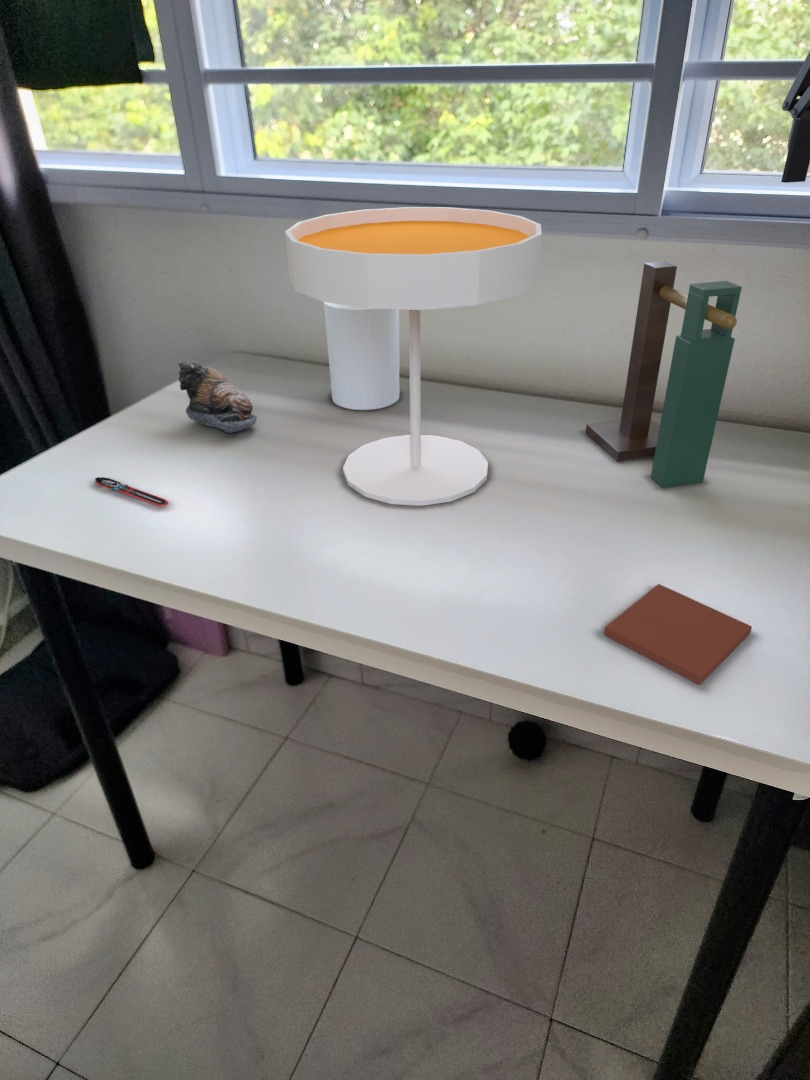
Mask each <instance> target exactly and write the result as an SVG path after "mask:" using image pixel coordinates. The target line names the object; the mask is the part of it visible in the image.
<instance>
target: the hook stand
mask: <svg viewBox="0 0 810 1080" xmlns="http://www.w3.org/2000/svg"><path fill="white" fill-rule="evenodd" d="M677 269H678V266H677V265H675V264H672V263H669V262H668V261H665V260H663V261H651V262H650V261H649V262H643V269H642V276H641V282H640V288H639V289H640V290H639V295H638V303H637V309H636V316H635V322H634V323H635V324H634V329H633V335H632V336H633V337H632V341H631V349H630V357H629V363H628V370H627V377H626V383H625V389H624V398H623V403H622V410H621V416H620V419H616V420H606V421H600V422H591V423H586V426H585V434H586V435H587V436H588V437H589V438H591V439H592V440H593V441H594V442H595V444H597V445H598V446H599V447H601V448H602V449H603V450H604V451H605V452H606V453H607V454H608V455H609V456H611V457H612V459H614V460H615V461H616V462H624V461H632V460H639V459H646V458H654V456H655V451H656V445H657V439H658V434H659V428H660V424H659V423H657V422H655V421H654V420H652V416H653V415H652V414H653V409H654V402H655V397H656V392H657V385H658V381H659V380H658V379H659V374H660V369H661V364H662V363H661V362H662V358H663V357H662V356H663V350H664V346H665V345H664V344H665V339H666V333H667V328H668V323H669V316H670V310H671V305H675V306H677V307H679V308H681V309H683V310H685V309H686V304H687V298H688V294H687V293H684V292H682V291H680V290H677V289H675V288H674V287H675V280H676V275H677V271H678V270H677ZM715 307H716V306H713V305H711V304H709V303H708V305H707V311H706V316H705V320H706V321H708V322H710V323H711V324H712V323H714V324H716V325H718V326H720V327H722V328H724V329H732V328H733V329H735V327H736V325H737V322H738V321H737V320H738V319H737V317H736V316H733V315H731V314H729V313H726V312H724V311H722V310H720V309H718V308H715Z"/></svg>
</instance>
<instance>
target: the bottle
mask: <svg viewBox="0 0 810 1080" xmlns="http://www.w3.org/2000/svg"><path fill="white" fill-rule="evenodd" d="M323 311H324V323H325V333H326V345H327V354H328V355H327V356H328V357H327V358H328V364H329V365H328V367H329V379H330V390H331V398H332V402H333V403H334V404H335V405H337V406H338V407H341V408H344V409H348V410H356V411H369V410H370V411H371V410H372V411H373V410H378V409H379V410H380V409H383V408H386V407H389V406H392V405H393V404H395V403H397V402H398V401H399V399H400V309H368V308H361V307H355V306H348V305H341V304H335V303H328V302H323Z"/></svg>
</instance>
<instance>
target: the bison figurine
mask: <svg viewBox="0 0 810 1080" xmlns="http://www.w3.org/2000/svg"><path fill="white" fill-rule="evenodd" d="M177 365H178V367H179V371H178V374H179V376H178V381H179V383H180V384H179V388H180V389H179V390H181V391H186V394H187V396H188V399H189V404H188V405H187V407H186V408H185V413H186V415H187V416H188V417H187V418H189V419H190V420H191V421H194V422H196V423H199V424H202V425H205V426H208V427H211V428H216V429H221V430H222V431H223V432H225V433H229V434H231V433H238V432H240V431H244V430H245V429H248V428H250V427H252V426H254V425H255V424H256V422H257V419H258V418H257V416H256V415H254V414H252V413H253V408H254V407H253V404H252V402H251V400H250V398H249V397H248V396H247V395H246V393H244V392H243V391H241V390H239V389H238V388H237V387H236V386H235V385H234V384H233V383H231V382H230V381H229V379H228V378H227V377H226V376H225V375H224V374H223V373H221V372H220V371H218V370H217V369H214V368H213V367H211V366H210V367H209V366H208V367H203V366H202V364H201V363H200V362H198V361H196V360H192V359H187V360H184V361H182V362H181V361H180V360H177Z"/></svg>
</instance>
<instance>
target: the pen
mask: <svg viewBox="0 0 810 1080" xmlns="http://www.w3.org/2000/svg"><path fill="white" fill-rule="evenodd" d="M94 480H95V481H94V483H96V485H98V486H101V487H104V488H106V489H111V490H114V491H116V493H118V492H120V493H122V494H125V495H128V496H131V497H134V498H136V499H139V500H142V501H144V502H147V503H149V504H153V505H155V506H167V505H169V501H168V500H167V499H165V498H163V497H160V496H157V495H155V494H151V493H150V492H146V491H143V490H141V489H139V488H138V489H137V488H134V487H132V486H129V484H123V483H121V482H120V481H117V480H115V479H112V478H110V477H100V476H98V477H95V478H94Z"/></svg>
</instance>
